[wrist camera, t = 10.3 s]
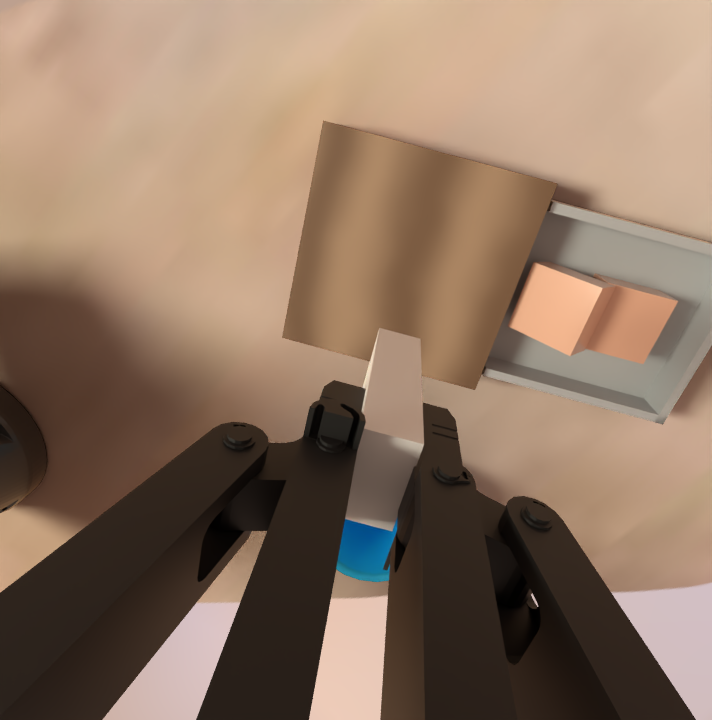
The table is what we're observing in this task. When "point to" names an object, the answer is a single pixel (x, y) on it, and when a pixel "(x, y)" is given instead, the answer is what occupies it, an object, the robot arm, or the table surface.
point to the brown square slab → (411, 251)
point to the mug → (365, 551)
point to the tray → (628, 263)
